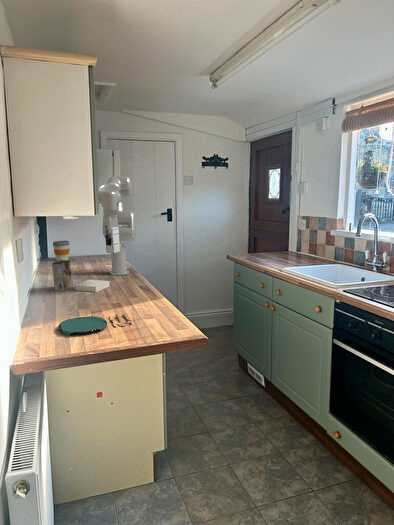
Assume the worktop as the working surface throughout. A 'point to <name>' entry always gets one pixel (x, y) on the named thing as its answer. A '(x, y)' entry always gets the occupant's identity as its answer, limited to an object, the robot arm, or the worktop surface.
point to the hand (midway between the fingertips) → (111, 244)
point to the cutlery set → (83, 324)
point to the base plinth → (92, 285)
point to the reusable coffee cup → (61, 250)
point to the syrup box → (113, 241)
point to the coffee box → (62, 275)
